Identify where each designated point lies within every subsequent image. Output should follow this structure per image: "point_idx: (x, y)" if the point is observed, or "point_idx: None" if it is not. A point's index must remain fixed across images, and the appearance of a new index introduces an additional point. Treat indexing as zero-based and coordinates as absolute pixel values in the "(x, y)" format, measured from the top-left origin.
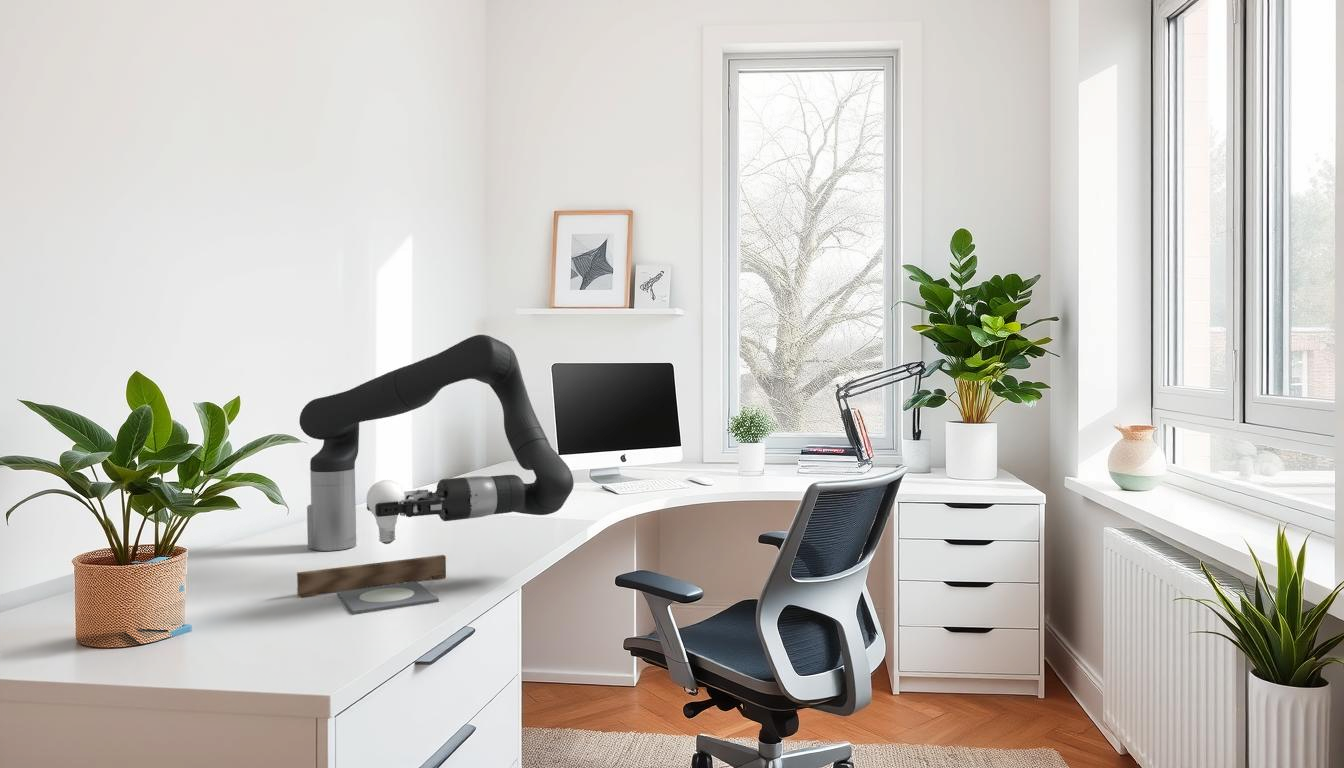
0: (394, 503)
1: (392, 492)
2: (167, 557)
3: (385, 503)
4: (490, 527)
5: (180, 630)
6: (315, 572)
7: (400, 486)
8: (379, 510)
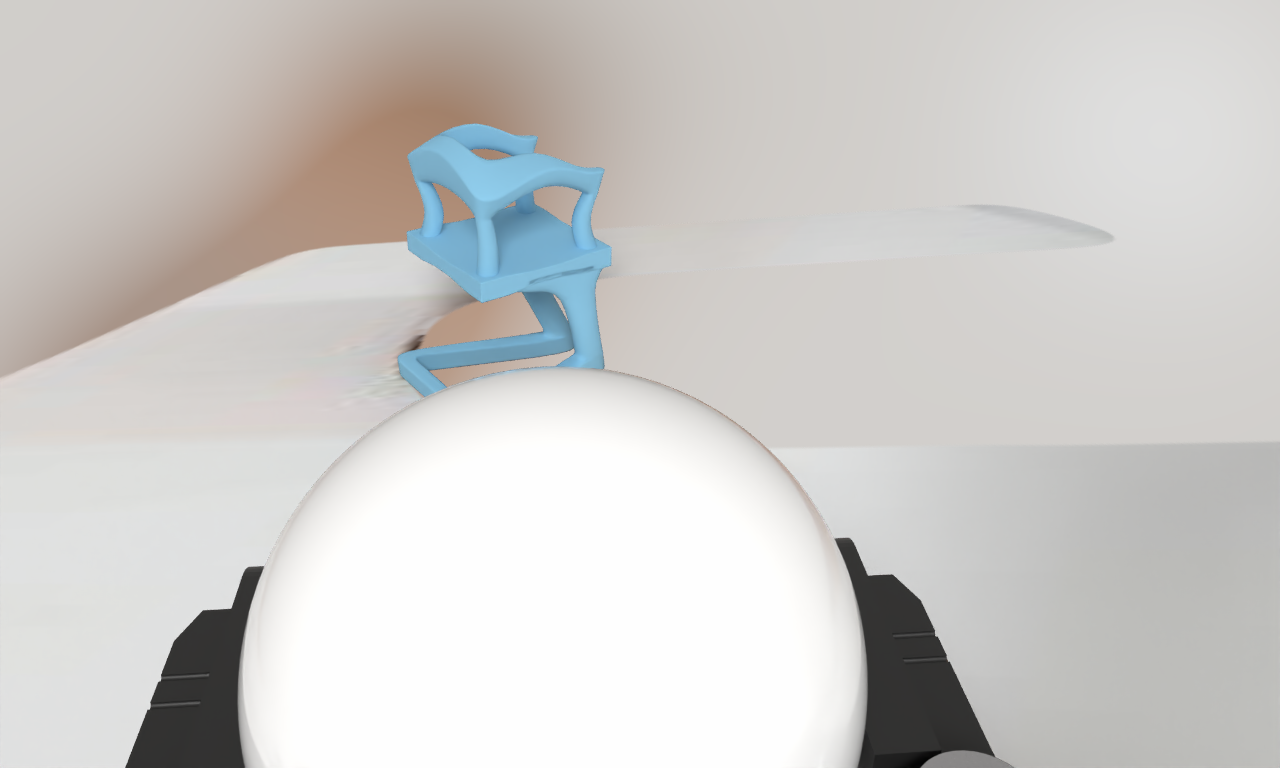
0: (193, 761)
1: (249, 615)
2: (468, 155)
3: (221, 643)
4: None
5: None
6: None
7: (460, 707)
8: None
